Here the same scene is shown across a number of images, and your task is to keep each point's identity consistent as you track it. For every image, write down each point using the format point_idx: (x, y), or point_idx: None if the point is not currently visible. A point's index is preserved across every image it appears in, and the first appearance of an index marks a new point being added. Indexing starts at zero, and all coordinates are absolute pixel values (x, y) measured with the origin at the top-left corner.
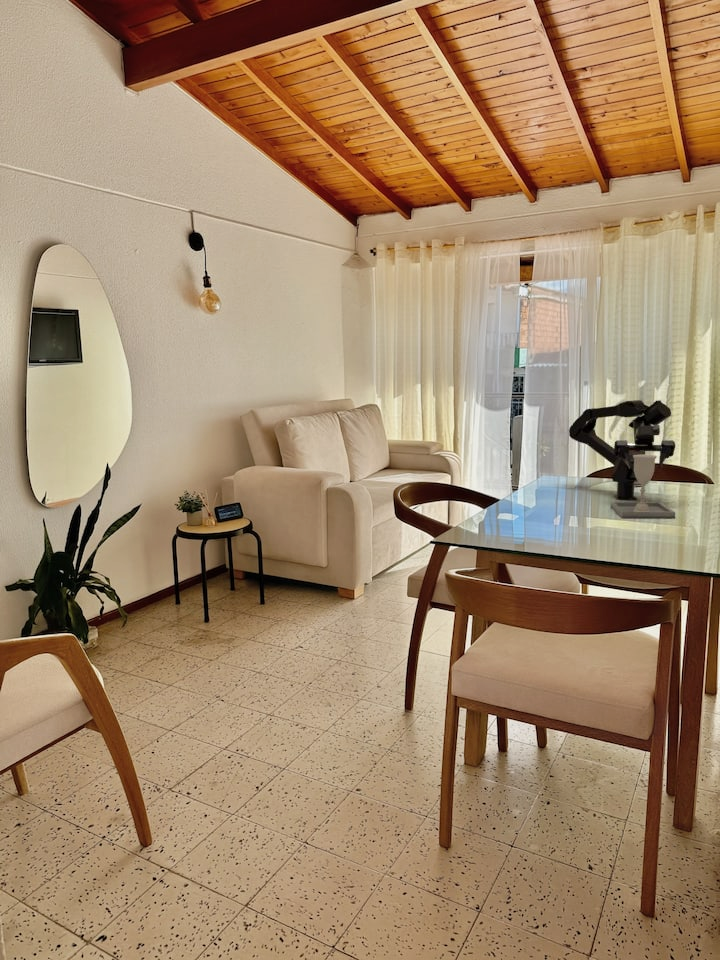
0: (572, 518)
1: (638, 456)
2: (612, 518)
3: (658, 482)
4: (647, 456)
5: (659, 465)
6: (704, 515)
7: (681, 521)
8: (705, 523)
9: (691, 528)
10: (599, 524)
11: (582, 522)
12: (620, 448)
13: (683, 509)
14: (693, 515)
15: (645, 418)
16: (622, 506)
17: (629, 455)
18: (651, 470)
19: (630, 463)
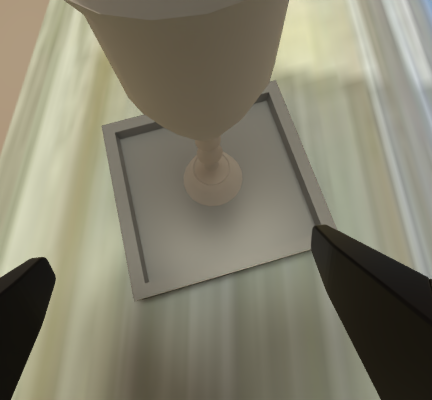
0: (415, 53)
1: (259, 4)
2: (299, 86)
3: None
4: (138, 27)
5: (32, 296)
6: (4, 211)
7: (97, 106)
8: (33, 101)
9: (85, 38)
10: (324, 12)
11: (374, 19)
12: None
13: (54, 300)
14: (41, 200)
15: None
16: (287, 239)
17: (427, 318)
18: (143, 14)
19: (337, 240)
